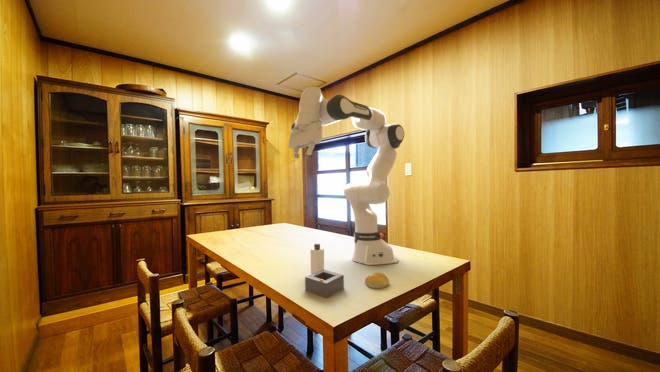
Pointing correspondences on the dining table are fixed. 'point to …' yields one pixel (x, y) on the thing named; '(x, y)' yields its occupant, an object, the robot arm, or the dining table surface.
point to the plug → (317, 259)
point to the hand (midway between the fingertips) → (302, 156)
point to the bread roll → (377, 280)
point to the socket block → (324, 283)
